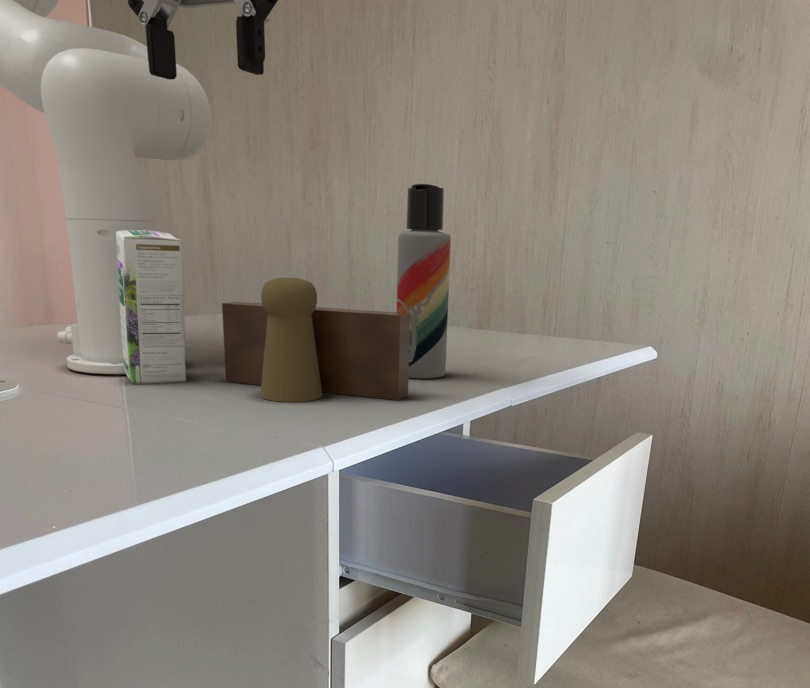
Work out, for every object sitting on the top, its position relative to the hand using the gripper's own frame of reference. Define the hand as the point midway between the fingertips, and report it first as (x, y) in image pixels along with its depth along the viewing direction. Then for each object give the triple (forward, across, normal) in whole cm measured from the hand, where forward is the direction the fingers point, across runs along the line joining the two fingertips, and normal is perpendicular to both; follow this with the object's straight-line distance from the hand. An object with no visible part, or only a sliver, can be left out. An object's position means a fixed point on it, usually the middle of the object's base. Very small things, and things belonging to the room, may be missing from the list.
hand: (206, 74), depth 76 cm
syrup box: (+28, +8, 0) cm, 30 cm away
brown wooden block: (+28, -9, -3) cm, 30 cm away
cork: (+28, -9, +1) cm, 30 cm away
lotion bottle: (+28, -15, -17) cm, 36 cm away
